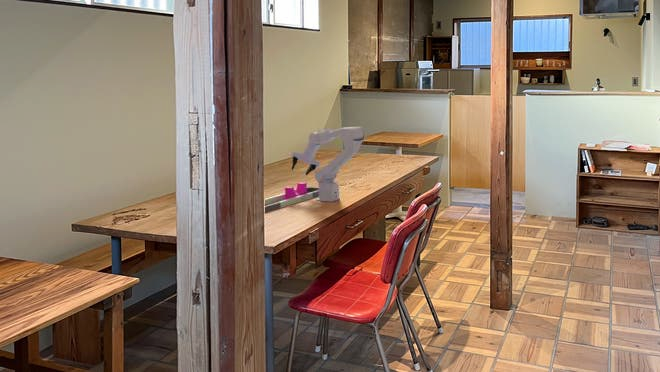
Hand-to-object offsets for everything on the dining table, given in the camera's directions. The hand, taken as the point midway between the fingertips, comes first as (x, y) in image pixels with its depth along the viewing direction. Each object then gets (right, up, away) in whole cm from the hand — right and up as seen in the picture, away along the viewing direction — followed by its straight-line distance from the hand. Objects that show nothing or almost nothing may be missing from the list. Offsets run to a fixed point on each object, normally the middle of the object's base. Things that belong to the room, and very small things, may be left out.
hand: (299, 171), depth 351 cm
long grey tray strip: (-5, -15, -13) cm, 20 cm away
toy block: (-2, -14, -9) cm, 17 cm away
